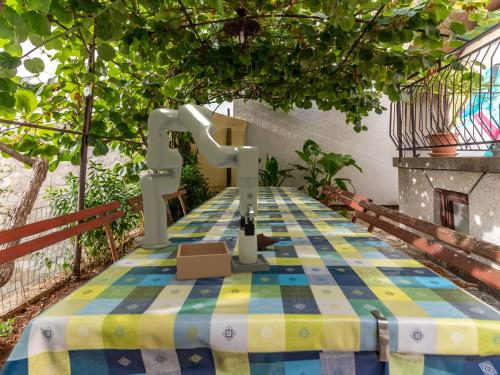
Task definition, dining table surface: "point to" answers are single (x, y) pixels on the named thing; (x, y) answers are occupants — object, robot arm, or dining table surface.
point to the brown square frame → (203, 260)
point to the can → (247, 247)
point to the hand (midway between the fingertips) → (247, 232)
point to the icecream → (264, 241)
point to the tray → (258, 266)
